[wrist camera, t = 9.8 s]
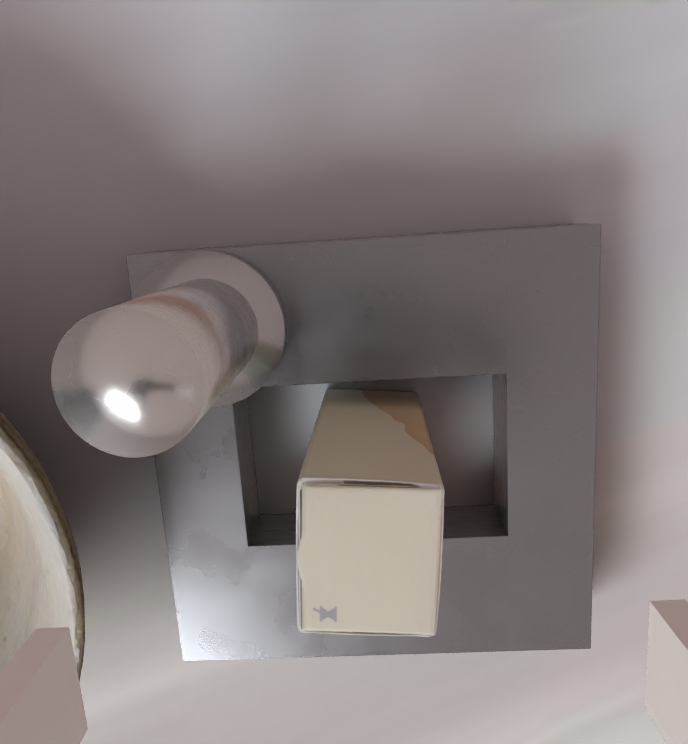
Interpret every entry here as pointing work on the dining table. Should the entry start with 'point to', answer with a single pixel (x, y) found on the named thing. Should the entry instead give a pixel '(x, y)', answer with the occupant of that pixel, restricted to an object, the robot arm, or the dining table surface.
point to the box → (369, 518)
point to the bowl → (34, 553)
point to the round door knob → (169, 354)
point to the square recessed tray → (407, 361)
